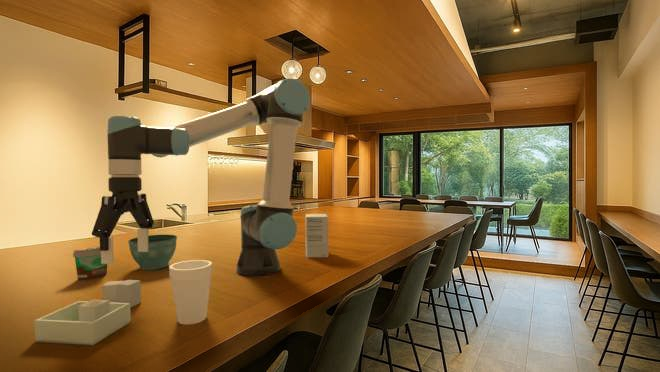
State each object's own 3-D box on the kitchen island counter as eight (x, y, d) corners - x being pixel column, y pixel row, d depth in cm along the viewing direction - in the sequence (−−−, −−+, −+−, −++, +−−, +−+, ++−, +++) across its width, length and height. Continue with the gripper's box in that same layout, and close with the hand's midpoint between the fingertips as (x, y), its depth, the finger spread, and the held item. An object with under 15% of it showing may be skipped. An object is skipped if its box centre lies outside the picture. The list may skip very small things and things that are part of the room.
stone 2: (124, 298, 100) (123, 280, 100) (119, 302, 96) (118, 284, 96) (108, 299, 99) (107, 281, 99) (102, 304, 95) (102, 285, 95)
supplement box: (305, 252, 155) (304, 213, 154) (326, 252, 156) (326, 213, 155) (306, 258, 145) (305, 216, 144) (328, 257, 146) (328, 216, 145)
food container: (89, 282, 115) (88, 251, 114) (73, 281, 116) (72, 250, 115) (119, 271, 127) (118, 243, 126) (104, 270, 128) (103, 243, 127)
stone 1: (110, 326, 80) (109, 300, 80) (96, 334, 76) (95, 307, 76) (94, 325, 81) (93, 299, 81) (79, 333, 77) (78, 306, 77)
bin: (130, 322, 84) (130, 303, 83) (93, 345, 72) (92, 323, 72) (79, 319, 85) (78, 301, 85) (35, 341, 74) (34, 320, 74)
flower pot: (128, 275, 122) (127, 244, 121) (129, 265, 136) (129, 236, 136) (179, 269, 129) (178, 239, 129) (175, 259, 144) (175, 233, 143)
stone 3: (141, 302, 96) (140, 280, 96) (129, 308, 92) (128, 285, 92) (128, 301, 97) (127, 279, 97) (116, 306, 93) (115, 284, 93)
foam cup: (178, 311, 90) (177, 260, 89) (216, 310, 90) (215, 259, 90) (164, 328, 80) (163, 270, 80) (206, 326, 81) (205, 269, 80)
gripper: (142, 176, 106) (143, 247, 107) (72, 176, 82) (74, 268, 82) (166, 176, 105) (167, 247, 106) (102, 176, 81) (104, 270, 81)
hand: (126, 257), depth 94 cm, fingers open, 13 cm apart
